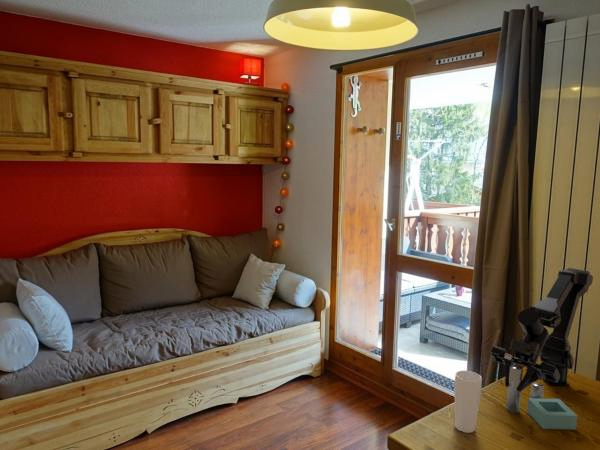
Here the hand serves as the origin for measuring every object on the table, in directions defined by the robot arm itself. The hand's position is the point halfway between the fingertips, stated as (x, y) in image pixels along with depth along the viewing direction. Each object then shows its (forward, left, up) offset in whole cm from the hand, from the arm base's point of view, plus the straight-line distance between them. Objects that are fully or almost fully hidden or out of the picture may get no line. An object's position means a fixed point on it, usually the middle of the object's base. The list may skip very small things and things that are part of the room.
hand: (512, 388), depth 136 cm
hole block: (-10, +4, -7) cm, 13 cm away
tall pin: (-1, -1, -7) cm, 7 cm away
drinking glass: (+16, +9, -7) cm, 20 cm away
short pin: (-12, -8, -7) cm, 16 cm away
